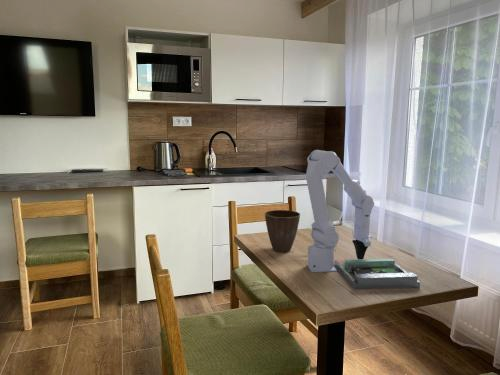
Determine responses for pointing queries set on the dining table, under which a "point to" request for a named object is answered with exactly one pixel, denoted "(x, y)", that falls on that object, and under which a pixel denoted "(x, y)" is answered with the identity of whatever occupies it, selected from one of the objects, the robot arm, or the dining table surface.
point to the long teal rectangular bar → (368, 263)
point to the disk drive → (373, 270)
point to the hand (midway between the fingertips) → (360, 258)
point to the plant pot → (282, 228)
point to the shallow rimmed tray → (381, 279)
